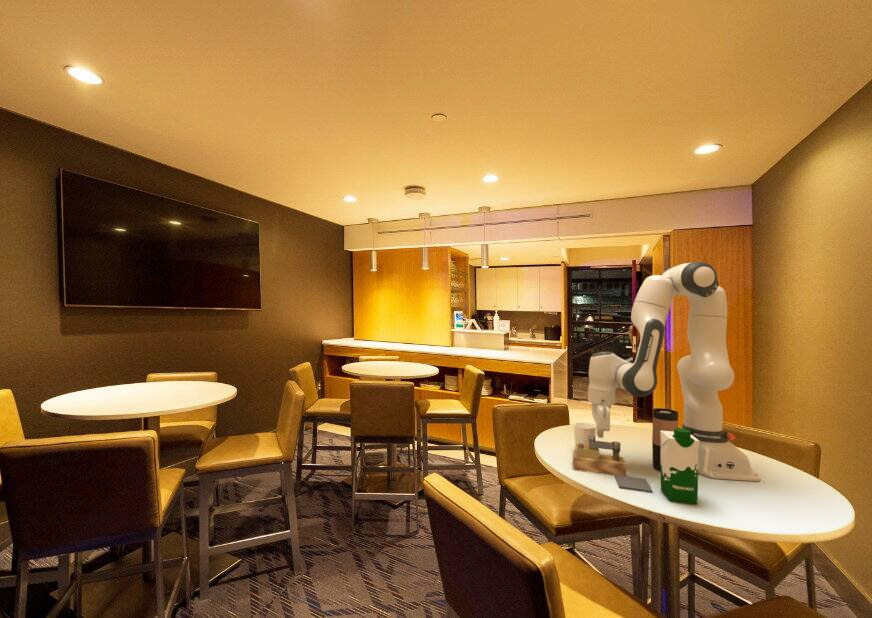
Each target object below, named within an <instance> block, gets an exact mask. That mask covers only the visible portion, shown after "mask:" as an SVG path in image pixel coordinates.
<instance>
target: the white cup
mask: <svg viewBox="0 0 872 618" xmlns="http://www.w3.org/2000/svg"><path fill="white" fill-rule="evenodd" d="M573 425H574V426H573V428H574V429H573V430H574V433H573V434H574V445H575V446H574V447H575V448H574V451H576V444H579V443H581V444H584V445H589V437H595V439H596V437H597V425H596V424H592V423H590V422H575V423H574V424H573Z"/></svg>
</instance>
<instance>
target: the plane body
mask: <svg viewBox="0 0 872 618" xmlns="http://www.w3.org/2000/svg"><path fill="white" fill-rule="evenodd" d="M572 466H573V467H572V468H574V469H575V470H574V469H573V470H574V471H579V470H582V471H581V472H586V471H589V472H588V473H594V472H596V474H601V473H603V474H602V475H609V474H610V475H611V476H615V475H622V476H627V463H626V462H625V459H624V458H623V456H620V452H615V451H612V455H610V454H604V453H603V454H601V453H599V460H595V459H587V458H579V457H577V455H576V450H572Z"/></svg>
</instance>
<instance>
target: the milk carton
mask: <svg viewBox="0 0 872 618" xmlns="http://www.w3.org/2000/svg"><path fill="white" fill-rule="evenodd" d="M660 437H661V460H660V471H659V473H660V476H659V477H660V492H662V494H663V495H664V496H665V498H666V499H667V501H669V502H670V503H671V502H673V503H681V504H687V505H688V504H689V505H695V506H696V505H697V506H698V496H699V495H698V493H699V491H698V490H699V473H698V451H699V440H698V439H696V438H695V437H694V436H693V435H691V431H689V430H687V429H682V427H681V428H680V427H678V428H675V429H674V432H673V431H660Z"/></svg>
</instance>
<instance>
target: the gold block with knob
mask: <svg viewBox="0 0 872 618" xmlns="http://www.w3.org/2000/svg"><path fill="white" fill-rule="evenodd" d="M575 451H576V455H577V457H579V458H587V459H595V460H599V454H600V448H591V447H589V445H584V444H581V443H579V444H576V450H575Z"/></svg>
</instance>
